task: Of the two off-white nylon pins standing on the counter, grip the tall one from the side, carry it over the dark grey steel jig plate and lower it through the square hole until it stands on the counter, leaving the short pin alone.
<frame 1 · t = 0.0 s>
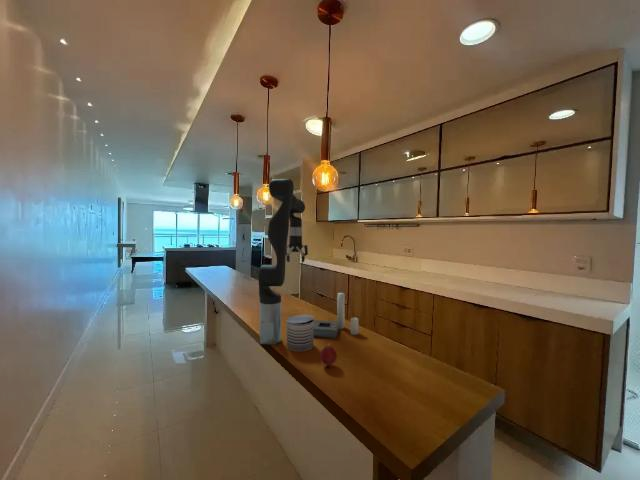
hand: (295, 262, 165), 29 cm above the kitchen island, tool pointing down, fingers open, 8 cm apart
short pin: (354, 333, 130), on the kitchen island
hole plate: (324, 332, 132), on the kitchen island
long pin: (340, 327, 138), on the kitchen island
onion: (328, 366, 99), on the kitchen island
can: (300, 346, 116), on the kitchen island
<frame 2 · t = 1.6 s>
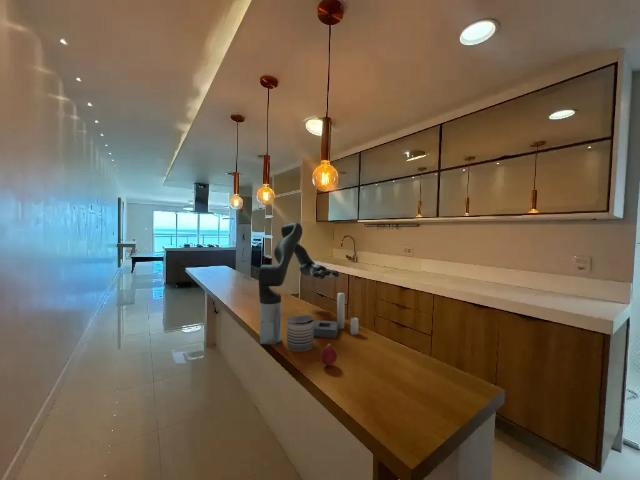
hand: (331, 275, 148), 24 cm above the kitchen island, tool horizontal, fingers open, 8 cm apart
nothing on the kitchen island moved.
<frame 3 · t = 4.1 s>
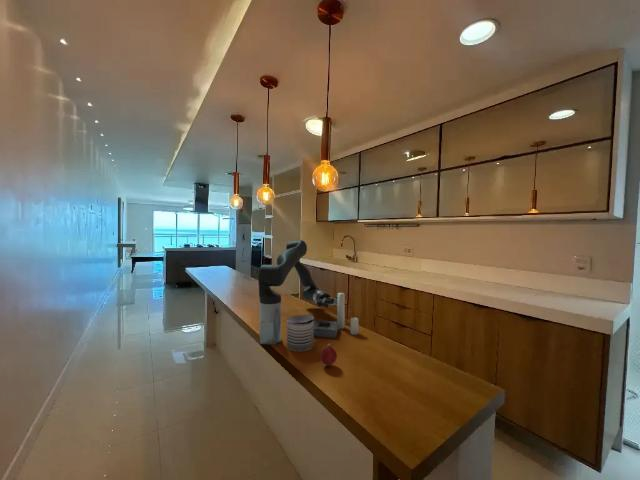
hand: (335, 305, 144), 10 cm above the kitchen island, tool horizontal, fingers open, 8 cm apart
nothing on the kitchen island moved.
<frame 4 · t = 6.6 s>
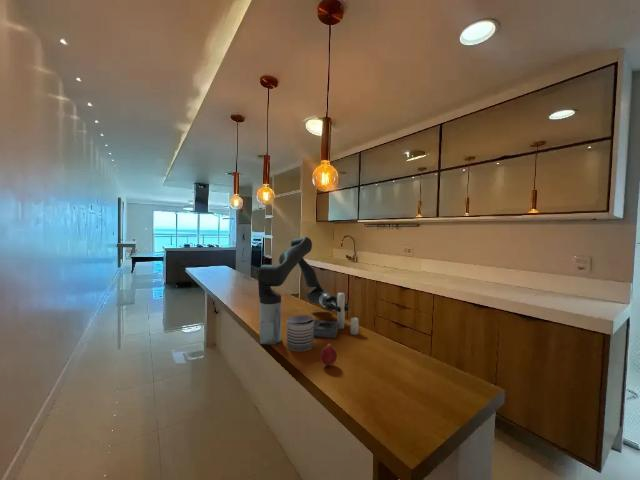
hand: (343, 309, 136), 10 cm above the kitchen island, tool horizontal, fingers closed on long pin, 3 cm apart
long pin: (340, 327, 138), on the kitchen island, touching gripper
everything else where it was.
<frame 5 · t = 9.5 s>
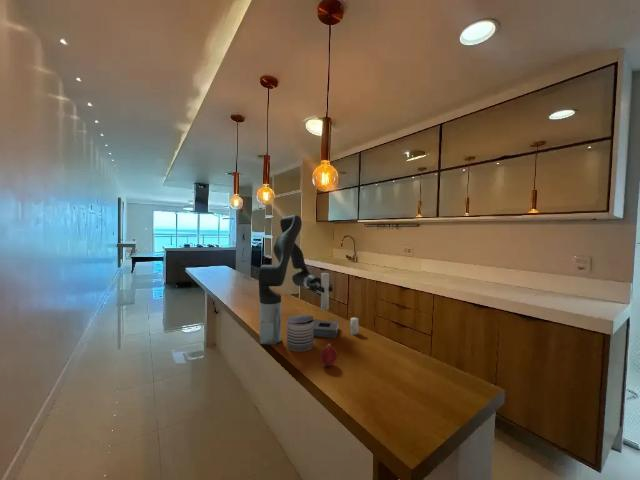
hand: (327, 289, 128), 21 cm above the kitchen island, tool horizontal, fingers closed on long pin, 3 cm apart
long pin: (324, 309, 131), point 11 cm above the kitchen island, touching gripper
everything else where it was.
when the fingers open (10 cm above the kitchen island, at t = 12.6 s): long pin stays where it is, resting in hole plate.
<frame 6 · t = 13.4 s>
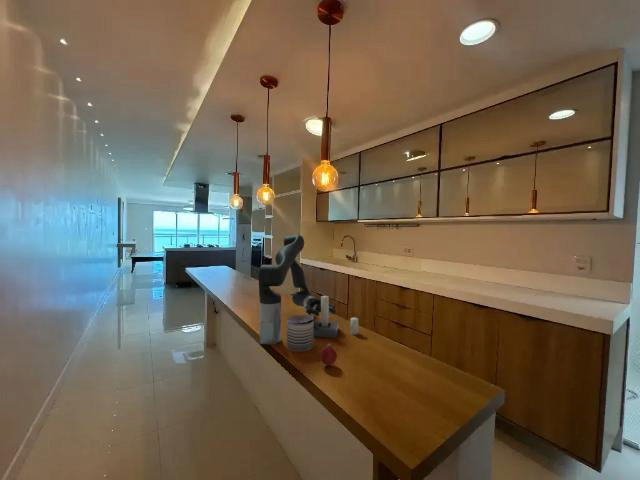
hand: (326, 313, 130), 10 cm above the kitchen island, tool horizontal, fingers open, 8 cm apart
long pin: (324, 332, 132), resting in hole plate
everything else where it was.
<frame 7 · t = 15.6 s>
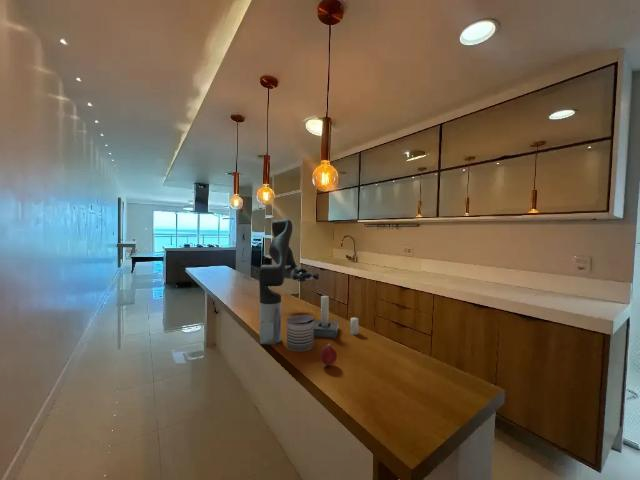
hand: (310, 278, 143), 24 cm above the kitchen island, tool horizontal, fingers open, 8 cm apart
nothing on the kitchen island moved.
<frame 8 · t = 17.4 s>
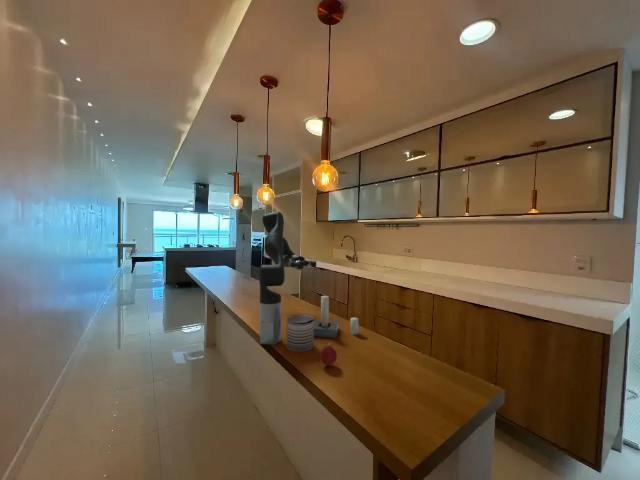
hand: (307, 265, 145), 30 cm above the kitchen island, tool horizontal, fingers open, 8 cm apart
nothing on the kitchen island moved.
at the end: long pin 0.0 cm off-centre on the hole plate, point 0.0 cm above the hole plate's base; long pin tilted 0°; the gripper is holding nothing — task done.
